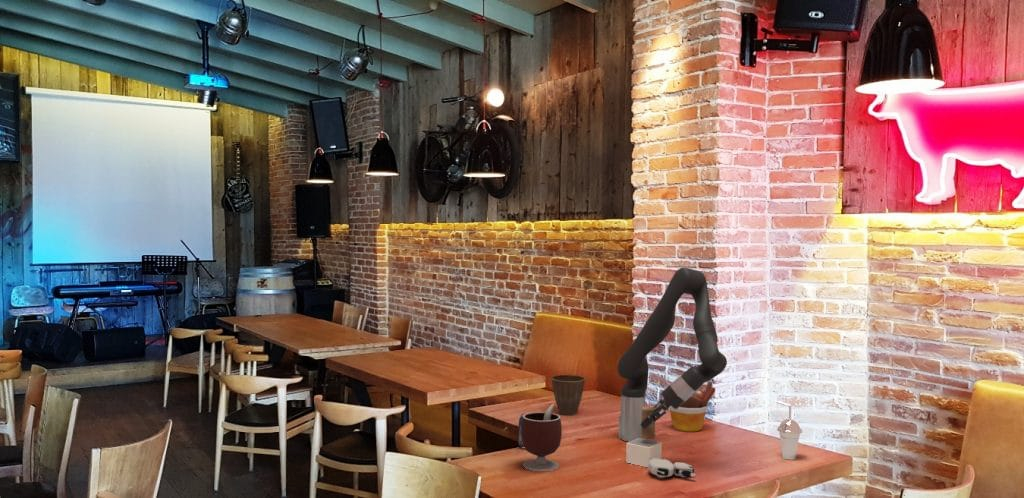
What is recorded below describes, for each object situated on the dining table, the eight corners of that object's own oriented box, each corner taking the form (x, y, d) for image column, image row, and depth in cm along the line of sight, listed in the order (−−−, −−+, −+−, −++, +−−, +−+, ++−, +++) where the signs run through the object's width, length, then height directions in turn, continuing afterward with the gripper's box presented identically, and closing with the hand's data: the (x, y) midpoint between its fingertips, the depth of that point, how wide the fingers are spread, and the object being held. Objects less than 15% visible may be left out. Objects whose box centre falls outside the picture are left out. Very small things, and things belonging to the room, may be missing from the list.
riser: (626, 463, 257) (626, 442, 256) (638, 457, 264) (638, 437, 264) (649, 468, 251) (649, 447, 251) (661, 462, 258) (661, 441, 258)
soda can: (539, 445, 277) (539, 414, 277) (533, 450, 270) (534, 418, 270) (521, 444, 279) (522, 412, 279) (516, 448, 273) (516, 416, 273)
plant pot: (585, 417, 322) (586, 381, 322) (551, 417, 322) (552, 380, 322) (583, 410, 337) (583, 375, 337) (550, 409, 337) (550, 374, 337)
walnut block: (641, 438, 255) (641, 409, 255) (641, 434, 260) (642, 406, 260) (654, 439, 254) (655, 410, 254) (654, 435, 259) (655, 407, 259)
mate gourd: (548, 475, 242) (549, 414, 242) (512, 468, 250) (513, 409, 249) (570, 463, 255) (571, 406, 255) (535, 456, 263) (536, 400, 263)
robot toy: (690, 473, 249) (645, 468, 251) (691, 460, 249) (647, 455, 251) (696, 485, 237) (649, 480, 238) (697, 471, 237) (650, 466, 238)
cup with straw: (790, 462, 260) (791, 405, 260) (770, 455, 268) (771, 400, 268) (807, 459, 264) (807, 403, 264) (787, 452, 272) (787, 398, 272)
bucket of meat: (664, 432, 299) (665, 383, 299) (663, 422, 315) (664, 376, 315) (715, 435, 295) (716, 385, 295) (711, 425, 312) (712, 378, 311)
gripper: (670, 380, 262) (635, 412, 265) (670, 388, 248) (633, 421, 251) (685, 396, 261) (650, 428, 264) (686, 404, 247) (649, 438, 250)
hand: (642, 424), depth 257 cm, fingers closed on walnut block, 4 cm apart
